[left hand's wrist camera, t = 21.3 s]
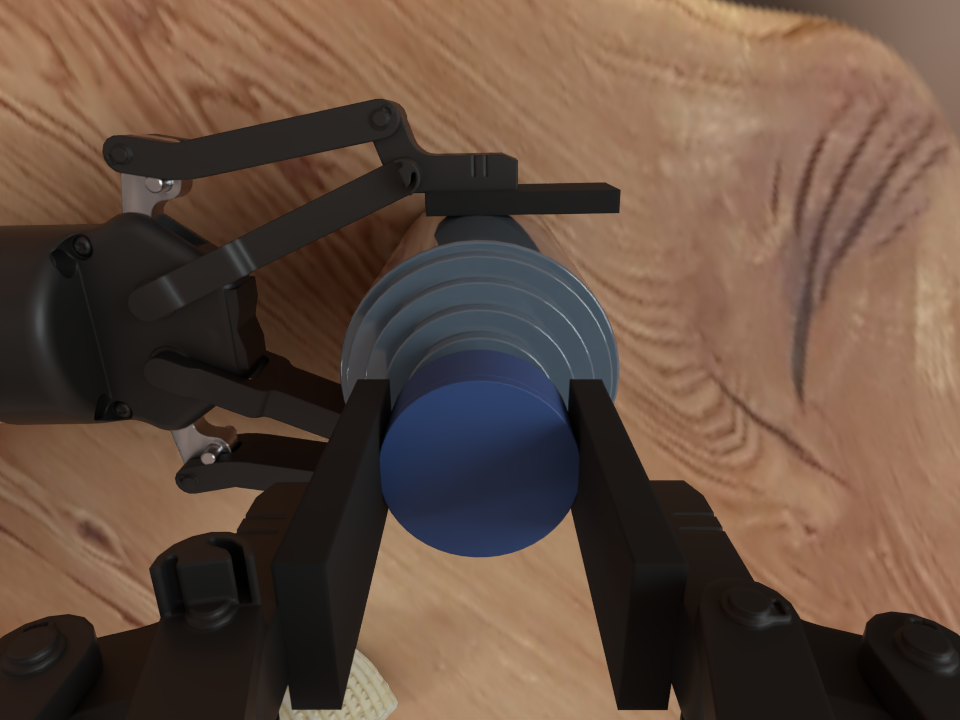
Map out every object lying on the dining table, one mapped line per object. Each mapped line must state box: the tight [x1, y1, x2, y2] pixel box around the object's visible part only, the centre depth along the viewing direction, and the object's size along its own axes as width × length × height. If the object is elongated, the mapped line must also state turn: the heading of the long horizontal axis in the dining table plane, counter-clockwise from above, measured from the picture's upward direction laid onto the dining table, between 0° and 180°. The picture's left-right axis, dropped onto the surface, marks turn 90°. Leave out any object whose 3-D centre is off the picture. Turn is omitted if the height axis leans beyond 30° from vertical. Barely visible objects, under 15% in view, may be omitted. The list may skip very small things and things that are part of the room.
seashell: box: [279, 649, 398, 720], centre depth 36 cm, size 8×8×8 cm
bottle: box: [340, 211, 619, 411], centre depth 22 cm, size 8×8×17 cm
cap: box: [380, 350, 580, 557], centre depth 14 cm, size 4×4×2 cm
